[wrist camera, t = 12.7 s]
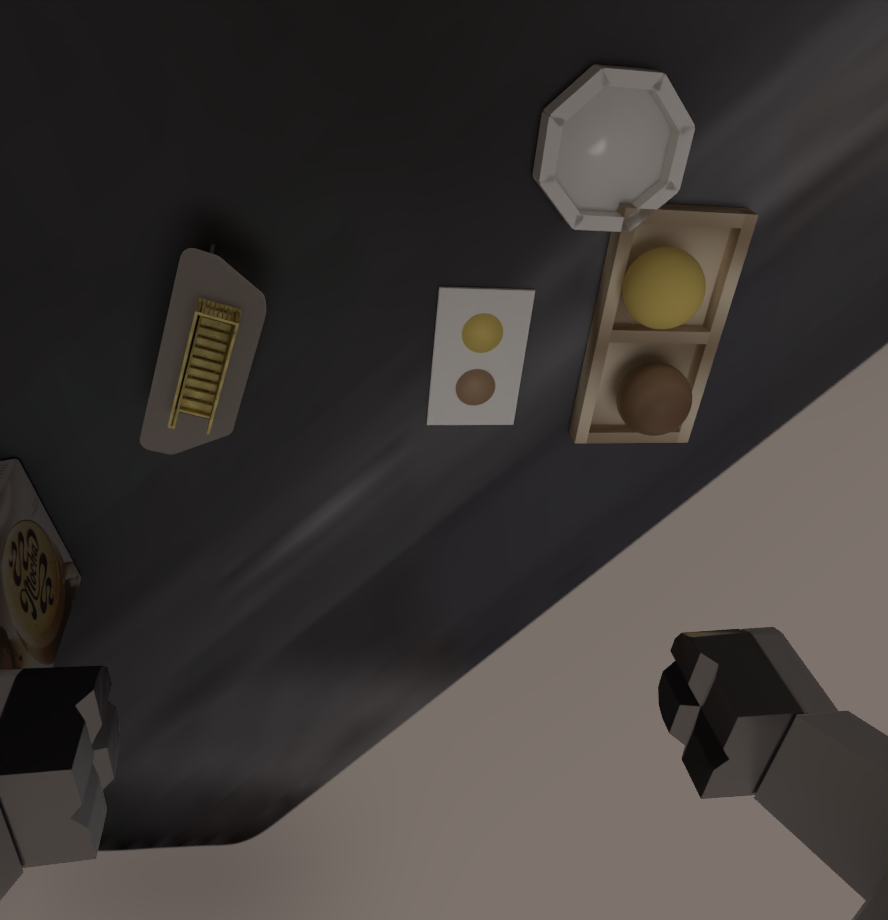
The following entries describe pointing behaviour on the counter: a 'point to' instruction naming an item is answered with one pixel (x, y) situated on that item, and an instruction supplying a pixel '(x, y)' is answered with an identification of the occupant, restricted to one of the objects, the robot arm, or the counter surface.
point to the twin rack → (632, 344)
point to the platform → (203, 354)
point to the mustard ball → (664, 288)
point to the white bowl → (612, 146)
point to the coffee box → (31, 575)
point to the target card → (478, 355)
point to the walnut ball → (654, 398)
